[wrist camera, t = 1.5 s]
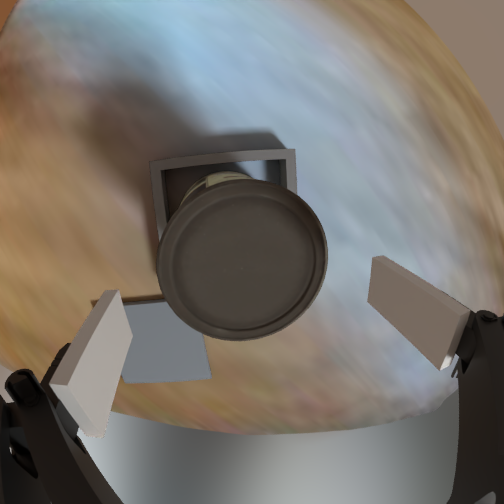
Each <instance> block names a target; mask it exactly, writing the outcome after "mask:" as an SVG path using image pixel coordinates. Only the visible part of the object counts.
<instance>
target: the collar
mask: <svg viewBox="0 0 504 504" xmlns="http://www.w3.org/2000/svg"><path fill="white" fill-rule="evenodd" d="M274 159H279V165H280V184H281V186H282V187H284V188H286V189H288V190H290V191H292V192H293V193H295V194H296V195H297V177H296V156H295V149H270V150H250V151H235V152H222V153H211V154H201V155H193V156H184V157H177V158H169V159H162V160H156V161H149V165H150V175H151V184H152V193H153V201H154V208H155V215H156V222H157V229H158V235H159V241H160V239H161V236H162V234H163V231H164V229H165V227H166V225H167V223H168V222H169V220H170V215H169V207H168V199H167V191H166V181H165V172H164V170H166V169H173V168H181V167H189V166H197V165H206V164H216V163H227V162H240V161H255V160H274Z"/></svg>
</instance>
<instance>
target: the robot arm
mask: <svg viewBox="0 0 504 504" xmlns="http://www.w3.org/2000/svg"><path fill="white" fill-rule="evenodd" d="M367 302H368V303H369V304H370V305H371V306H372V307H374V308H375V309H376V310H377V311H378V312H379V313H380V314H381V315H382V316H383V317H384V318H385V319H387V320H388V321H389V322H390V323H391V324H392V325H393V326H394V327H395V328H396V329H397V330H398V331H399V332H400V333H401V334H402V335H403V336H405V337H406V338H407V339H408V340H409V341H410V342H411V343H412V344H413V345H414V346H415V347H416V348H417V349H418V350H419V351H420V352H421V353H422V354H423V355H424V356H425V357H426V358H427V359H428V360H429V361H430V362H431V363H432V364H433V365H434V366H435V367H436V368H437V369H438V370H439V371H440V370H442V369H444V368H446V367H447V366H449V365H451V362H452V360H453V358H454V355H455V353H456V354H457V355H458V356H459V359H458V361H457V364H456V366H455V368H454V370H453V372H452V375H451V377H452V378H453V377H454V375H455V373H456V372H458V374H457V376H456V378H458V385H459V440H458V453H457V463H456V472H455V478H454V485H453V490H452V494H451V497H450V499H449V501H448V502H447V504H504V315H503V316H502V317H498V316H497V315H495V314H494V313H492V312H490V311H486V310H480V311H477V313H474V312H473V311H471V310H470V309H469V308H467V307H466V306H464V305H463V304H461V303H460V302H458V301H456V300H455V299H454V298H452V297H450V296H449V295H448V294H446V293H444V292H443V291H441V290H439V289H437V288H436V287H434V286H433V285H431V284H430V283H428V282H426V281H425V280H423V279H422V278H420V277H418V276H417V275H415V274H414V273H412V272H410V271H409V270H407V269H405V268H404V267H402V266H400V265H399V264H397V263H395V262H394V261H392V260H390V259H388V258H387V257H385V256H377V257H372V267H371V277H370V286H369V294H368V301H367ZM132 337H133V335H132V332H131V329H130V326H129V323H128V320H127V316H126V313H125V310H124V306H123V303H122V300H121V296H120V292H119V289H117V290H106V291H105V292H104V293H103V294H102V296H101V297H100V299H99V300H98V302H97V303H96V305H95V306H94V308H93V309H92V311H91V312H90V314H89V316H88V317H87V319H86V320H85V322H84V323H83V325H82V327H81V328H80V330H79V331H78V333H77V335H76V336H75V338H74V340H73V341H72V343H67V344H66V345H65V346H64V347H62V348H61V349H60V350H59V352H58V353H57V355H56V357H55V360H53V362H52V363H51V366H50V367H49V369H48V370H47V372H46V374H45V376H44V377H43V379H42V381H41V383H39V382H38V380H37V378H36V377H35V375H34V374H33V372H32V371H31V370H29V369H20V370H17V371H15V372H14V373H12V374H11V375H10V376H9V377H8V379H7V380H6V382H5V389H6V391H7V392H8V394H9V395H10V396H11V398H12V399H13V401H14V402H12V403H6V402H5V400H4V399H3V398H2V396H1V395H0V504H51V503H52V504H124V503H123V502H122V501H121V500H120V498H119V497H118V496H117V494H116V493H115V492H114V490H113V489H112V488H111V486H110V485H109V484H108V482H107V481H106V479H105V478H104V476H103V475H102V474H101V472H100V471H99V469H98V468H97V466H96V464H95V463H94V461H93V460H92V458H91V457H90V455H89V453H88V451H87V450H86V448H85V447H84V445H83V443H82V441H81V439H80V438H79V437H78V436H77V431H78V428H80V429H81V430H82V431H83V432H84V434H85V435H86V436H90V437H99V438H104V435H105V431H106V427H107V422H108V418H109V414H110V410H111V407H112V403H113V399H114V396H115V392H116V388H117V385H118V381H119V378H120V375H121V371H122V368H123V365H124V362H125V359H126V355H127V352H128V349H129V346H130V343H131V340H132ZM10 447H11V449H12V453H11V452H10Z"/></svg>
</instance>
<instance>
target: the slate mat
mask: <svg viewBox="0 0 504 504" xmlns="http://www.w3.org/2000/svg"><path fill="white" fill-rule="evenodd" d="M123 306H124V310H125V313H126V316H127V320H128V323H129V326H130V329H131V332H132V335H133V337H132V340H131V343H130V346H129V349H128V352H127V355H126V359H125V362H124V365H123V368H122V371H121V375H122V377H123V379H124V381H125V383H157V382H176V381H190V380H201V379H211V378H212V375H211V370H210V366H209V361H208V357H207V352H206V348H205V343H204V338H203V334H202V333H200V332H198V331H196V330H194V329H193V328H191V327H189V326H188V325H187V324H186V323H184V322H183V321H182V320H181V319H180V318H179V317H178V316H177V315H176V314H175V313H174V312H173V310H172V309H171V308H170V306H169V305H168V303H167V301H166V300H165V299H158V300H148V301H137V302H125V303H123Z"/></svg>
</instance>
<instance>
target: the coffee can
mask: <svg viewBox="0 0 504 504" xmlns="http://www.w3.org/2000/svg"><path fill="white" fill-rule="evenodd" d="M327 264H328V247H327V241H326V236H325V233H324V230H323V227H322V225H321V223H320V221H319V219H318V218H317V216H316V214H315V213H314V211H313V210H312V209H311V207H310V206H309V205H308V204H307V203H306V202H305V201H304V200H303V199H301V198H300V197H299V196H298V195H296V194H295V193H293V192H292V191H290V190H288V189H286V188H284V187H282V186H280V185H277V184H274V183H271V182H267V181H263V180H256V179H253V178H251V177H249V176H247V175H245V174H242V173H239V172H233V171H221V172H215V173H212V174H209V175H206V176H204V177H203V178H201V179H199V180H198V181H197V182H195V183H194V184H193V185H192V186H191V187H190V188H189V190H188V191H187V192H186V194H185V195H184V197H183V199H182V201H181V204H180V206H179V208H178V209H177V210H176V212H175V213H174V214H173V216H172V217H171V218H170V220H169V222H168V223H167V225H166V227H165V229H164V231H163V234H162V236H161V239H160V242H159V246H158V251H157V260H156V270H157V277H158V282H159V286H160V289H161V291H162V294H163V296H164V298H165V300H166V301H167V303H168V305H169V306H170V308H171V309H172V310H173V312H174V313H175V314H176V315H177V316H178V317H179V318H180V319H181V320H182V321H183V322H184V323H186V324H187V325H188V326H189V327H191V328H193V329H194V330H196V331H198V332H200V333H202V334H205V335H207V336H210V337H212V338H216V339H221V340H229V341H248V340H255V339H259V338H263V337H266V336H269V335H272V334H274V333H276V332H278V331H281V330H282V329H284V328H286V327H287V326H289V325H290V324H292V323H293V322H295V321H296V320H297V319H298V318H299V317H300V316H302V315H303V314H304V312H305V311H306V310H307V309H308V308H309V307H310V306H311V304H312V303H313V301H314V300H315V298H316V297H317V295H318V293H319V291H320V289H321V287H322V284H323V281H324V279H325V275H326V271H327Z"/></svg>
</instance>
